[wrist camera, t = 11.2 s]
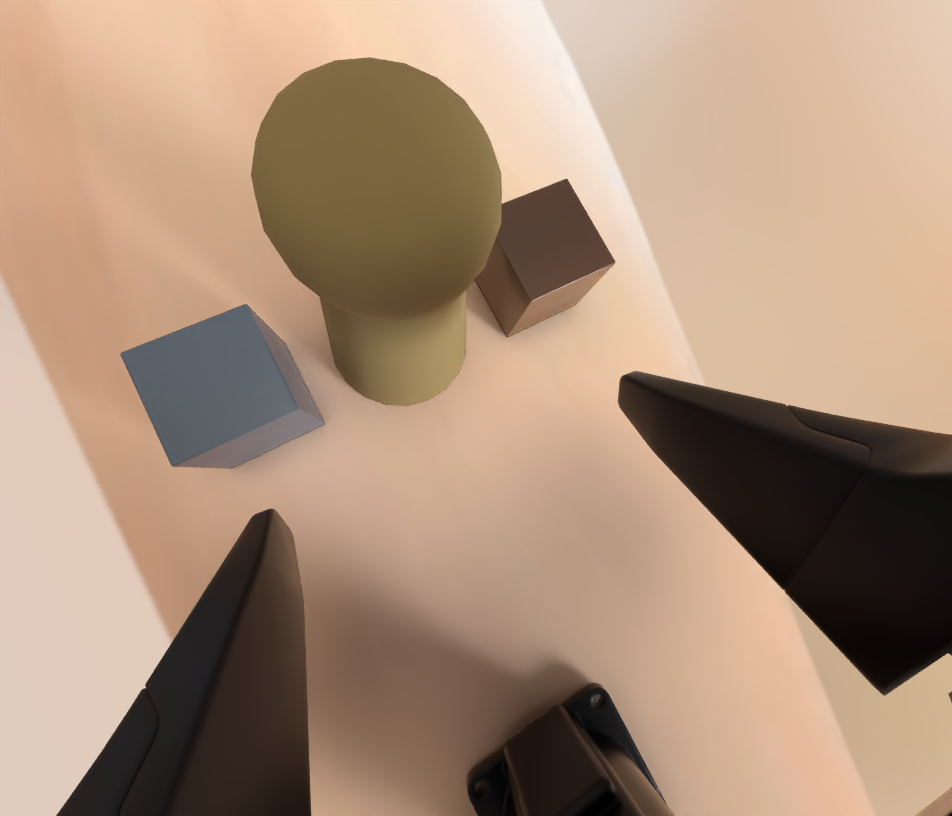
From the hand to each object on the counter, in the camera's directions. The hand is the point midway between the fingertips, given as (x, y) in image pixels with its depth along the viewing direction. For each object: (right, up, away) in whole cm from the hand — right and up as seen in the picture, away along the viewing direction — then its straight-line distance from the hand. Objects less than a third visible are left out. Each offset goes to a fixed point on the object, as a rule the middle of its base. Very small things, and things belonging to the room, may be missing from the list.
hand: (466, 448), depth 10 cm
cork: (-3, +4, +8) cm, 10 cm away
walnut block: (+3, +7, +9) cm, 12 cm away
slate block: (-9, +1, +7) cm, 11 cm away
